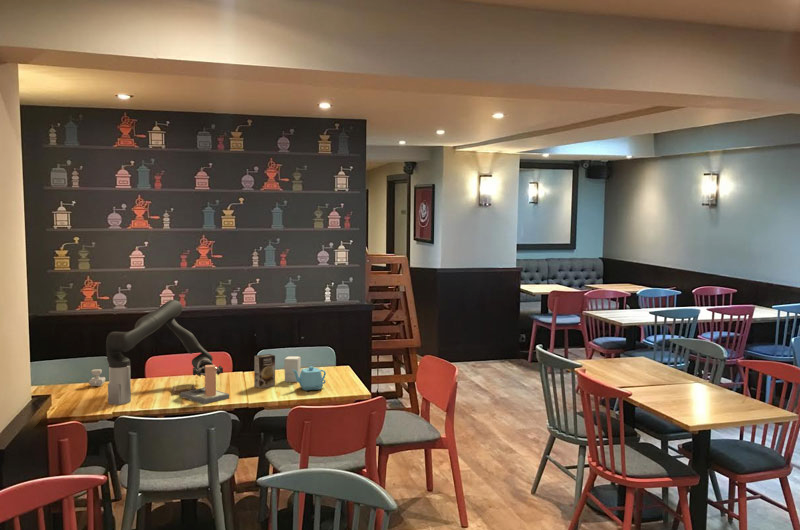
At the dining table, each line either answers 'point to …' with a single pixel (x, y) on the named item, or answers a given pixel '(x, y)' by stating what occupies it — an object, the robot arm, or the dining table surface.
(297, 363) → the supplement box
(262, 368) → the coffee box
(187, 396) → the board
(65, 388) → the dining table surface
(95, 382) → the stamp
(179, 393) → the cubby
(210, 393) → the terracotta block
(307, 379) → the teapot
